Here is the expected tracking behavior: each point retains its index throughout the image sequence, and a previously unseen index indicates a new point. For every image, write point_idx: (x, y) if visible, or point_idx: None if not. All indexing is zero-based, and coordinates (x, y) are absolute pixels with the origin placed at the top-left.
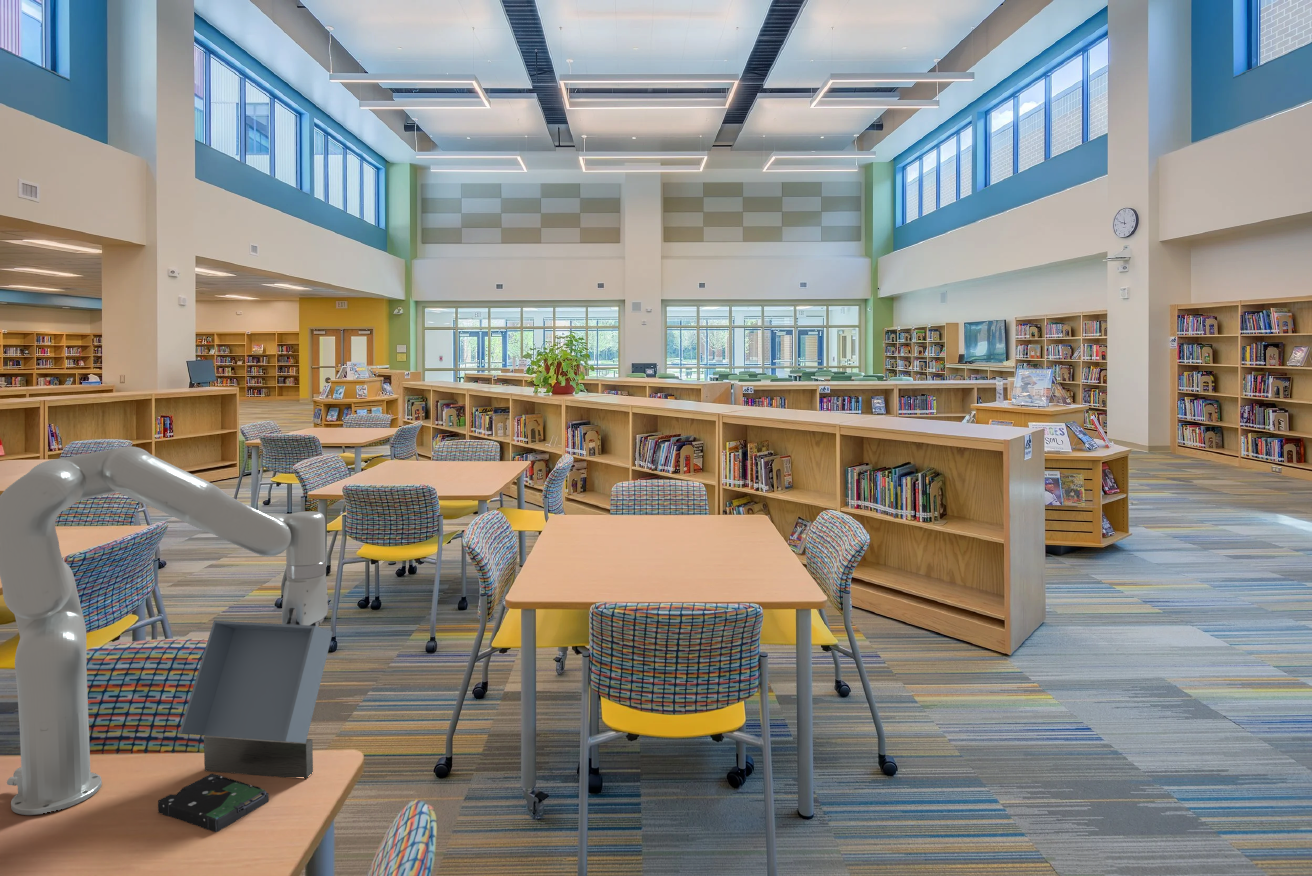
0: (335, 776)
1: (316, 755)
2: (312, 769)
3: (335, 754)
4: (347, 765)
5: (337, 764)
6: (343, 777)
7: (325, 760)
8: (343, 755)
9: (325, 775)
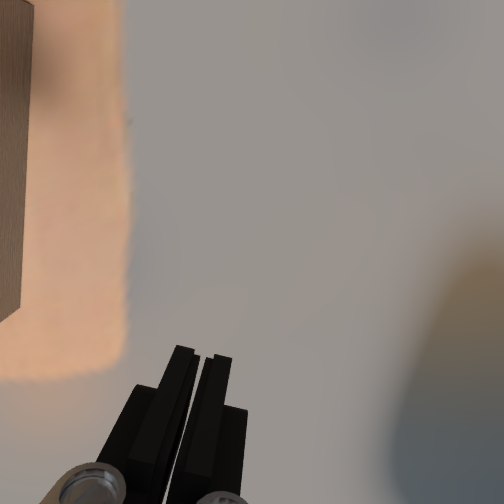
0: (14, 356)
1: (109, 289)
2: (11, 312)
3: (115, 331)
4: (64, 369)
5: (67, 347)
6: (12, 372)
7: (84, 317)
8: (110, 350)
9: (16, 335)
